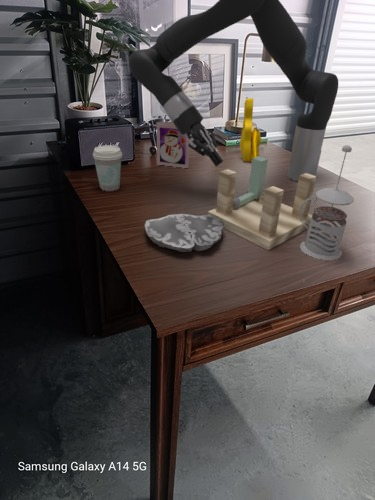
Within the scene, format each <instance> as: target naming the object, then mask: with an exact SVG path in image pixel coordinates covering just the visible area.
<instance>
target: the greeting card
mask: <svg viewBox="0 0 375 500" xmlns="http://www.w3.org/2000/svg"><path fill="white" fill-rule="evenodd" d="M189 143H190V139H189V138H188V136H187V134H185V135H182V134H181V133H180V132H179V130H178V129H177V128H176V126H175V125H174V124H173V122H172V121H171V120H170V121H157V122H156V166H158V165H165V166H164V167H167V166H173V167H172V168H176V167H182V168H181V169H184V168H188V169H189V160H190V159H189V158H190V147H189V146H188V144H189Z"/></svg>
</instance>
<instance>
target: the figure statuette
mask: <svg viewBox="0 0 375 500" xmlns="http://www.w3.org/2000/svg"><path fill="white" fill-rule="evenodd" d="M243 108H244V109H243V111H244V112H243V120H242V122H243V123H242V124H243V125H242V129H241V130H242V131H241V135H240V139H239V148H240V149H239V150H240V154H241V156H242V161H243V162H250V163H252V159H253V158H255V157H258V156H259V157H260V150H259V149H260V145H261V142H262V137H261V132H260V130H259V129H258V128H257V127H254V128H253V115H254V98H251V97H249V98H248V97H246V99H245V101H244V107H243Z"/></svg>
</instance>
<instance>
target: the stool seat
mask: <svg viewBox="0 0 375 500" xmlns="http://www.w3.org/2000/svg"><path fill="white" fill-rule="evenodd" d="M218 173H219V176H218V183H217V184H218V185H217V194H216V195H217V197H216V207H215V208H213V209H211V210H208V211H207V215H211V216H215V217H217V218H219V220H221V221H222V222H223V223H224V226H225V228H224V230H227V231H228V232H231V233H233V234H234V235H237V236H238V237H241V238H242V239H245V240H247V241H249V242H251V243H253V244H255V245H257V246H259V247H261V248H263V249H265V250H266V251H269V250H271V249H274V247H276V246H279V245H281V244H282V243H284V242H286V241H288V240H290V239H291V238H293V237H295V236H297V235H299V234H300V233H302V232H304V231H307V227H308V229H309V225H308V224H307V223H306V222H308V223H309V224H310V221H311V217H312V215H313V214H310V213H309V212H310V208H311V207H310V206H311V203H312V200H313V199H312V198H310V197H313V196H314V195H313V193H314V189H315V185H316V181H317V175H316V176H314V175H311V174H307V173H305V174H302V175H300V176H299V180H298V181H297V187H296V191H295V197H294V200H293V206H289V205H287V204H285V203H282V201H283V197H284V192H285V191H284V189H282V188H279V187H276V186H274V185H272V186H270V187H267V188H265V189H264V192H263V195H260V196H259V198H258V199H254V200H252V201H250V202H248V203H246V204H244V205H242V206H240V207H239V208H238V209H233V201H234V198H235V193H236V191H235V189H236V183H237V181H236V180H237V172H236V171H234V170H231V169H229V168H227V169H224V170H220V171H219V172H218ZM308 198H310V199H312V200H309V201H307V202H305V200H306V199H308ZM304 202H305V204H304V205H303V210H302V214H303V218H304V219H305V221H306V222H305V221H304V220H303V218H302V215H301V211H300V207H301V205H302V204H303V203H304ZM301 209H302V207H301ZM299 211H300V217H301V221H302V222H303V224H305V225H306V226H307V227H305V226H304V225H303V224H302V222H301V221H300V218H299Z"/></svg>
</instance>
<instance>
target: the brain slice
mask: <svg viewBox="0 0 375 500" xmlns="http://www.w3.org/2000/svg"><path fill="white" fill-rule="evenodd" d="M143 228H144V229H145V233H146V235H147V237H149V239H150V240H151V241H152V242H153V243H154V244H155V245H157V246H158V247H159V248H166V249H170V250H173V251H178V252H180V253H187V252H188V253H191V252H192V251H195V252H203V251H206V250H208V249H210V248H212V246H213V245H214V244H216V243H217V242H218V241H219V240H221V237H222V236H223V231H224V230H225V226H224V223H223V222H222V221H221V220H219V218H217V217H215V216H211V215H208V214H206V215H205V214H204V215H193V214H187V213H178V214H176V213H175V214H168V215H166V216H163V217H160V218H152V219H148V220H147V219H146V221H145V223H144V227H143Z"/></svg>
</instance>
